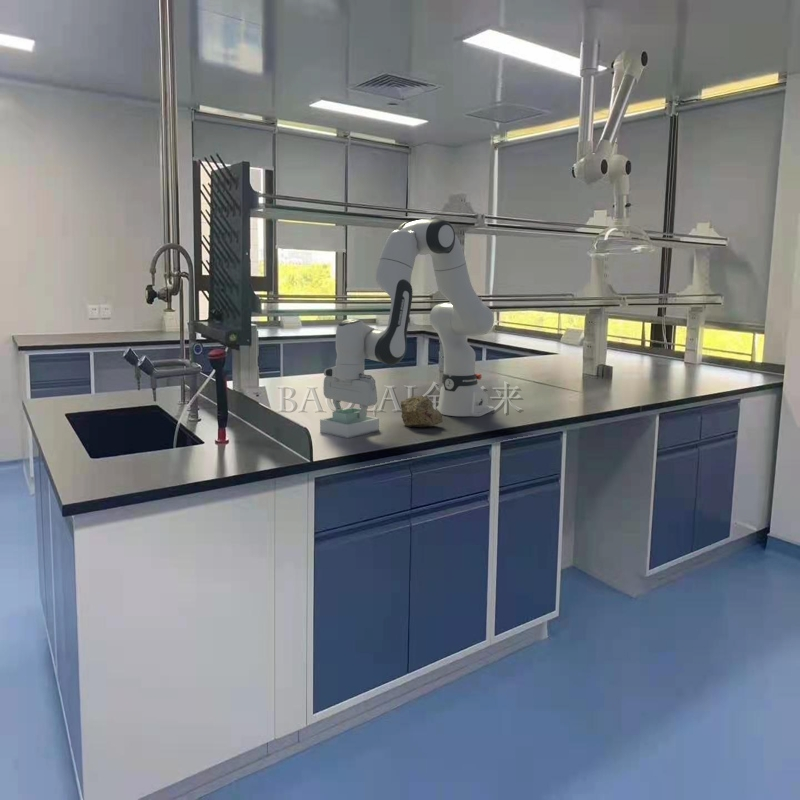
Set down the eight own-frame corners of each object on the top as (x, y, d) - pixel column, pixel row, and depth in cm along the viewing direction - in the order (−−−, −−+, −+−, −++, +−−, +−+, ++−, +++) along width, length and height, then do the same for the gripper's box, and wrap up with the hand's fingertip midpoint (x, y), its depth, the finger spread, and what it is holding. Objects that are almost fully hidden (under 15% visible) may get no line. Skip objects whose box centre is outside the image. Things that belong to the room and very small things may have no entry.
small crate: (352, 425, 213) (352, 407, 212) (366, 428, 209) (366, 410, 208) (332, 430, 206) (332, 411, 205) (346, 433, 202) (346, 414, 201)
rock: (409, 412, 208) (431, 393, 211) (388, 409, 218) (409, 390, 222) (425, 439, 212) (446, 420, 216) (404, 434, 222) (424, 416, 226)
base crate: (351, 424, 217) (351, 412, 216) (379, 430, 209) (379, 418, 208) (320, 432, 206) (320, 419, 206) (347, 438, 199) (347, 425, 198)
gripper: (382, 374, 200) (381, 419, 203) (334, 367, 213) (334, 410, 216) (367, 377, 195) (367, 422, 198) (319, 369, 208) (320, 412, 211)
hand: (349, 416), depth 207 cm, fingers open, 8 cm apart
